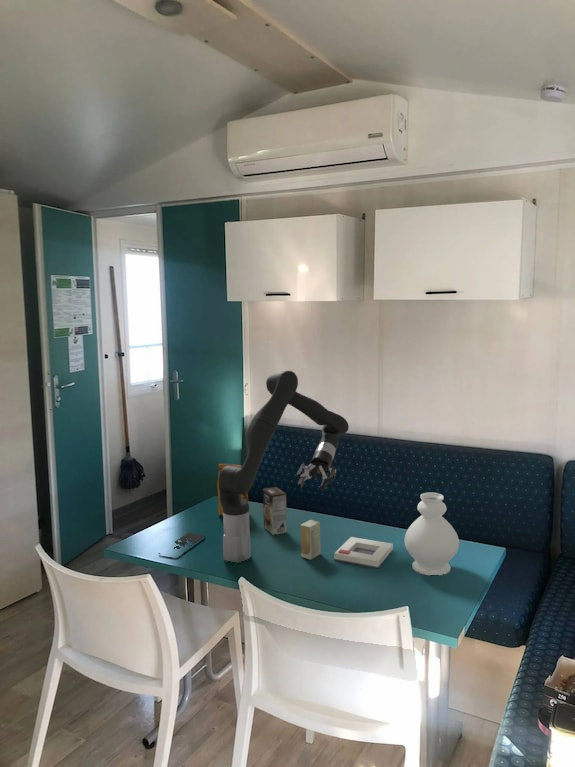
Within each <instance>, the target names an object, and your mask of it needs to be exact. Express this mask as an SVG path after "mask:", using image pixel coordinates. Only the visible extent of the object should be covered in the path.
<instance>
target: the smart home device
mask: <svg viewBox="0 0 575 767" xmlns="http://www.w3.org/2000/svg"><path fill="white" fill-rule="evenodd" d="M203 537H205V538H206V535H205V534H199V533H192V532H187V533H185V534H184V535H182V536H181V537H179V538H180V539H179V538H178V539H176V540H174V542H175V543H176V544H179V545H180V546H183V547H185V545H188V543H187V542H186V541H187V539H188V541H189V542H190V543H191V542H192V544H194V543H196V542H197V541H199V540H200V539H202V538H203ZM186 538H187V539H186ZM190 538H191V540H190ZM178 540H181V541H182V542H178ZM189 546H190V545H189ZM191 546H192V545H191ZM175 548H177V549H180V548H181V547H179V546H176V547H174V549H175Z"/></svg>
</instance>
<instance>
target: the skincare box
mask: <svg viewBox="0 0 575 767" xmlns="http://www.w3.org/2000/svg"><path fill="white" fill-rule="evenodd" d="M300 545H301V546H300V549H301V550H300V551H301V558H304V559H307V560H311V561H312V560H313V559H314V558H316V557H318V556H319V555H321V554H322V551H321V550H322V549H321V548H322V547H321V523H320V521H317V520H314V519H309V520H306V521H305V522H303V523H301V524H300Z"/></svg>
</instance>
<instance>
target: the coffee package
mask: <svg viewBox="0 0 575 767" xmlns="http://www.w3.org/2000/svg"><path fill="white" fill-rule="evenodd" d="M228 465H231V466H237V467H242V466H243V465H242V464H233V463H219V464H218V474H217V475H218V477H217V482H216V485H217V486H216V487H217V501H218V515H219V516H223V508H222V506H221V503H220V493H219V475H220V472H221V470H222V468H223V467H225V466H228ZM248 494H249V491H248V492H247V493H246V494H244V495H241V494H240V496H241V497H242V498H243V499H245V500H246V501H247V502H248V503H249V496H248Z"/></svg>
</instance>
